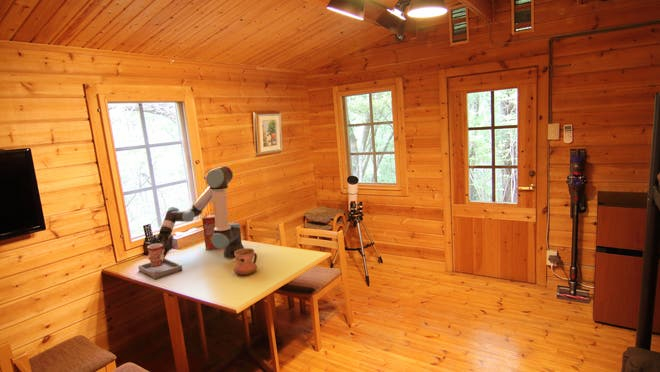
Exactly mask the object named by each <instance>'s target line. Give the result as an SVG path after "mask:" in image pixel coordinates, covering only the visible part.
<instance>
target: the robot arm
mask: <svg viewBox="0 0 660 372" xmlns="http://www.w3.org/2000/svg"><path fill="white" fill-rule="evenodd" d="M233 178H234V173H233V170H232V169H231V168H230V167H228V166H224V165H223V166H220V167H216V168H212V169H210V170H209V171H208V172H207V173H206V175H205V182H206V184H207V185H208V187H207V188H206V189H205V191H203V193H201V195H200V196H199V197H198V199H197V200H196V201H195V202H194V203H193V204H192V205H191V207H189V208H187V209H184V210H180V209H179V208H178V207H174V206H170V207H169V208H168V209H167V210H166V213H165V216H164V218H163V221H162V224H161V227H160V229H159V233H158V234H157V235H156V234H154V235H153V237H152V240H151V241H150V243H149V244H148V246H149V245H151V244H155V243H160V244H161V243H162V242H163V245H164V248H163V251H162V254H161V257H160V259H161V260H163V259H164V256H165V255H166V256H167V254H168V251H171V250H172V244H173V240H174V239H175V238H174V236H173V235H172V232H173V230H174V227H175V224H176V223H177V222H178V223H179V222H183V223H184V222H185V223H188V222H190V223H191V222H192V221H194V219H195V217H198V216H200V215H201V214H202V213H203V210H204V209H205V208H206V207H208V204H210V203H211V201H212V200H213V211H214V213H213V215H215V227H214V229H213V230H214V234H213V236H212V238H211V241H212V244H213V245H214V246H215V247H216V248H218V249H219V250H223V257H224V258H226V259H236V258H235V255H234V252H235V251H237V250H239V249H244V247H245V246H244V245H243V242H242V233H241V225H240V223H238V222H229V213H228V211H229V210H228V202H227V201H228V200H227V190H228V189H229V183H230V182H231V181H232V180H233ZM218 249H217V250H218ZM166 253H167V254H166ZM166 256H165V257H166ZM147 259H148V260H149V261H150V256H149V252H148V255H147Z"/></svg>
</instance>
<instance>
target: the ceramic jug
mask: <svg viewBox="0 0 660 372" xmlns="http://www.w3.org/2000/svg"><path fill="white" fill-rule="evenodd" d="M234 255H235V258H232V262H237V263H236V264H235V265H234V266H233V271H234V273H235V274H236V275H239V276H247V275H251V274H253V273H255V272H256V271H257V269H258V265H257V264H256V263H257V260H258V253H257V252H255V250H254V249H253V248H249V247H247V248H246V247H245V248H244V249H239V250H237V251H235V252H234Z"/></svg>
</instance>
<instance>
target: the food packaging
mask: <svg viewBox="0 0 660 372" xmlns="http://www.w3.org/2000/svg"><path fill="white" fill-rule="evenodd" d="M201 220H202V228H203V239H204V246H205V251H211V250H218V248H216V247H215V246H214V245H213V244H212V241H211V238H212V236H213V234H214V230H213V229H214V227H215V214H207V215H203V216H202V219H201Z"/></svg>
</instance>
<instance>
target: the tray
mask: <svg viewBox="0 0 660 372" xmlns="http://www.w3.org/2000/svg"><path fill="white" fill-rule="evenodd" d="M138 271H139V272H140V273H142V274H144V275H146V276H148V277H149V278H151V279H153V280H159V279H161V278H164V277H168V276H171V275H173V274H176V273H178V272H179V273H180V272H182V271H183V266H182V264H179V263H177V262H175V261H173V260H170V259H168V258H166V257H165V258H164V260H163V265H162V266H159V267H152V266H151V262H148V263H145V264H141V265H138Z"/></svg>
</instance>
